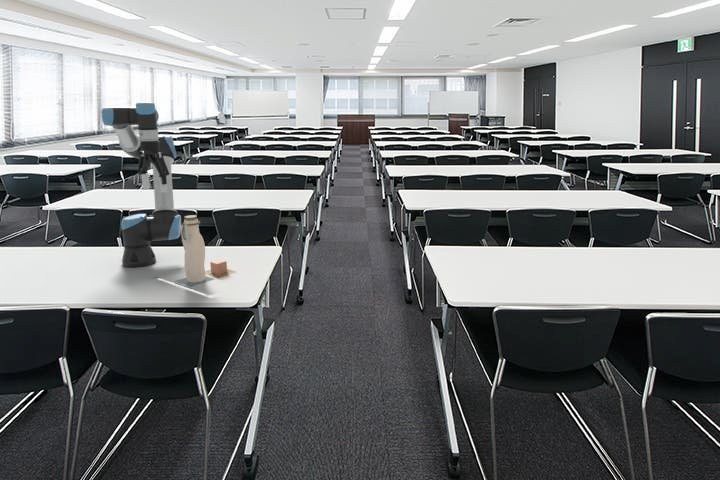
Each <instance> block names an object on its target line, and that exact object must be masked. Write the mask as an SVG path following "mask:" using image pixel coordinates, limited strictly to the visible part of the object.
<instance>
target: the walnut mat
mask: <svg viewBox="0 0 720 480" xmlns="http://www.w3.org/2000/svg"><path fill="white" fill-rule="evenodd" d="M235 273H237V271H236V270H232V269H229V268H227V272H225V273H222V274H219V275H218V274H214V273H211V269H208V270H205V275H209V276H212V277H215V278H222V277H226V276H228V275H232V274H235Z"/></svg>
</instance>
